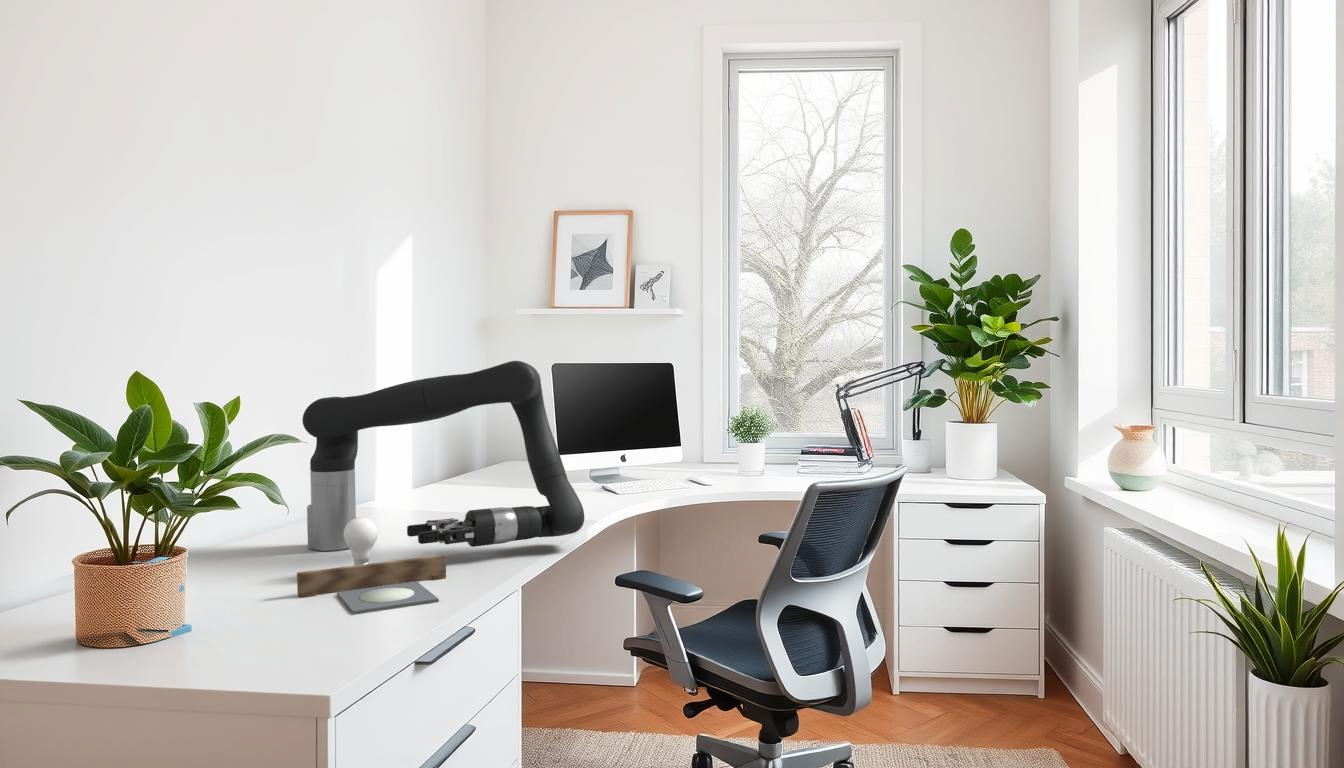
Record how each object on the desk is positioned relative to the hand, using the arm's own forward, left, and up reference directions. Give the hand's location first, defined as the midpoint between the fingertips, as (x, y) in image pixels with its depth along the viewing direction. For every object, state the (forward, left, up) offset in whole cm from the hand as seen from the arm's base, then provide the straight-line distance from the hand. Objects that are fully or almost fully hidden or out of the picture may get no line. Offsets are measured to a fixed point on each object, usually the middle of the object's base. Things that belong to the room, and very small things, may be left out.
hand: (412, 534), depth 177 cm
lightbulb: (-8, -6, -7) cm, 12 cm away
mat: (+6, -23, -7) cm, 24 cm away
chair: (-20, -46, -7) cm, 51 cm away
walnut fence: (-1, -15, -7) cm, 16 cm away
